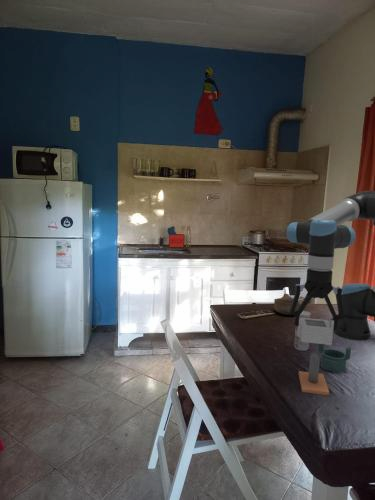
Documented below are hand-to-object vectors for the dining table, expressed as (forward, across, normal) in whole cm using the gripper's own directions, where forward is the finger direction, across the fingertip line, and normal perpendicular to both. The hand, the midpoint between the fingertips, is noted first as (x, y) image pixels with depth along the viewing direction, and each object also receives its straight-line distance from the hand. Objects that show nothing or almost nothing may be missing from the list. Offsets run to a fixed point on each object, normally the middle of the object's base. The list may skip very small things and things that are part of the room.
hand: (314, 337), depth 114 cm
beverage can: (+16, +1, -29) cm, 33 cm away
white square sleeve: (0, 0, 0) cm, 0 cm away
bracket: (+16, -9, -14) cm, 23 cm away
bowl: (+16, +5, -76) cm, 77 cm away
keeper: (+16, -1, 0) cm, 16 cm away
